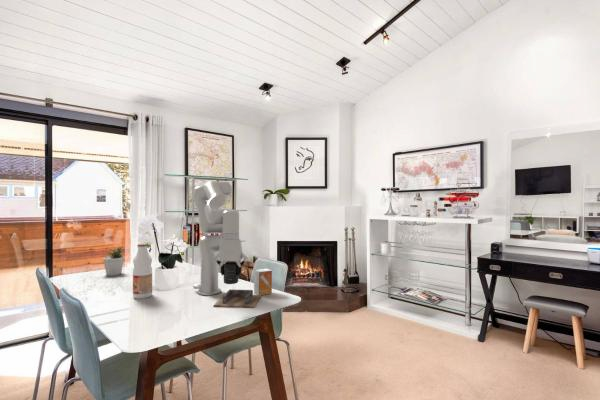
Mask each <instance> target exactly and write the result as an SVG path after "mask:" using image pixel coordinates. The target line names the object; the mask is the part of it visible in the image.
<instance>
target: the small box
mask: <svg viewBox="0 0 600 400" xmlns="http://www.w3.org/2000/svg"><path fill="white" fill-rule="evenodd" d="M272 280H273V271H272V269H269V268H260V269H254V271H253V294H254V295H261V296H265V295H272V293H273V292H272V291H273V288H272V287H273V281H272Z"/></svg>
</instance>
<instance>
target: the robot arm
mask: <svg viewBox="0 0 600 400" xmlns="http://www.w3.org/2000/svg"><path fill="white" fill-rule="evenodd" d="M232 193H233V188H232V185H231V183H230V182H228V181H224V180H223V181H222V180H221V181H219V180H217V181H216V180H210V181H208V182H207V183H205V184H204V185H203V184H202V185H198V186H196V187H194V189H193V193H192V194H193V195H192V196H193V201H194V202H193V203H194V204H195V206H196V209H197V213H198V221H199V222H198V223H199V228H200V232H201V233H202V234H207V235H204V236H202V237H200V238H199V240H198V248H199V255H200V284H193V289H195V290H197V295H198V294H199V296H200V295H201V296H213V295H218V294H220V293H221V292H222V289H221V288H220V287H219V267H220V274H221V276H224V268H223V266H224V264H225V263H226V262H229V261H230V262H237V264H238V267H237V275H238V277H239V276H240V275H241V274H242V267H243V265H244V264H245V263H246V262H247V261H248V259H249V257H248V256H246V255H245V253H244V252H243V246H242V241H241V238H240V212H239V211H238V210H235V209H227V208H224V209H223V208H221V207H223V206H224V205H225V204H226V202H227V199H228V198H230V197H231V196H232ZM211 234H212V235H211ZM215 253H218V254H216V255H215ZM242 259H243V260H242ZM241 260H242V261H241Z"/></svg>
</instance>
